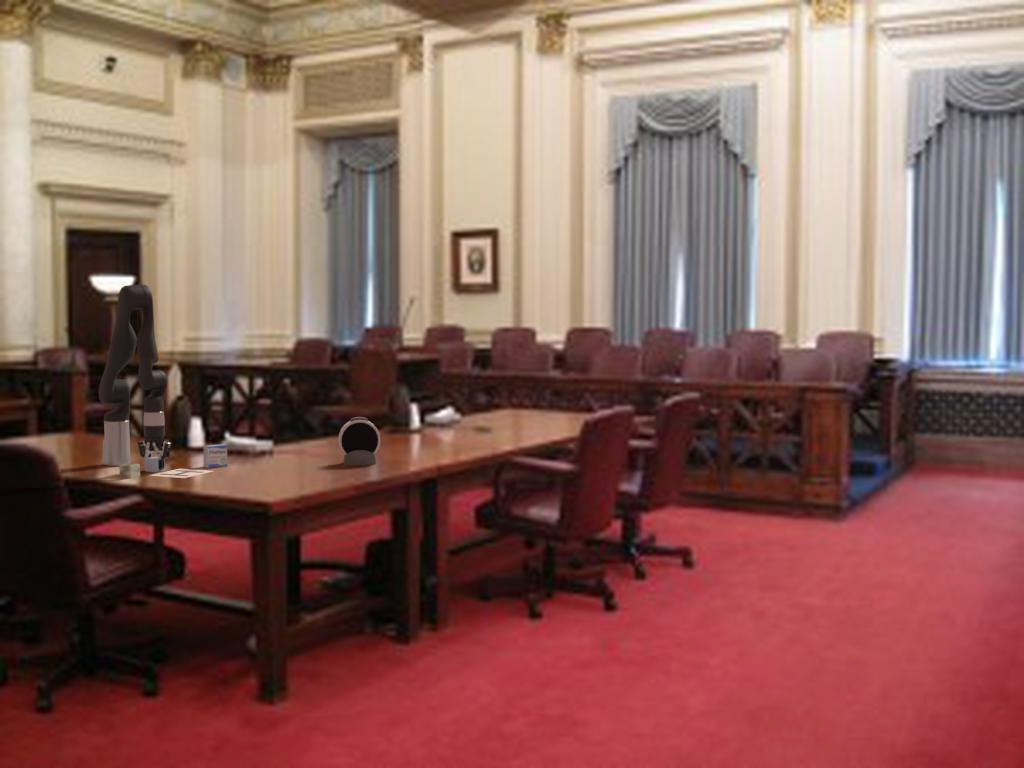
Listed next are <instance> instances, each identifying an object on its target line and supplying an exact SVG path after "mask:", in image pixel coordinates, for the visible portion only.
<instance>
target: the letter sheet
mask: <svg viewBox="0 0 1024 768" xmlns="http://www.w3.org/2000/svg"><path fill="white" fill-rule="evenodd" d="M212 472H214V470H205V469H204V470H203V469H190V468H189V469H188V468H177V469H173V470H168V471H161V472H156V473H153V474H149V475H148V476H149V477H163V478H164V477H166V478H177V479H187V478H191V477H195V476H199V475H204V474H208V473H212Z"/></svg>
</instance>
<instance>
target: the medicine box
mask: <svg viewBox="0 0 1024 768" xmlns="http://www.w3.org/2000/svg"><path fill="white" fill-rule="evenodd" d="M202 449H203V467H204V468H206V469H211V468H212V469H213V468H223V467H225V468H227V467H228V445H227V444H224V443H223V444H210V445H209V444H208V445H203V448H202Z"/></svg>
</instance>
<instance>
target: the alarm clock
mask: <svg viewBox="0 0 1024 768" xmlns="http://www.w3.org/2000/svg"><path fill="white" fill-rule="evenodd" d="M338 445H339V448H340V450H341V453H343V461H342V464H343V466H370V465H371V466H373V465H377V460H376V454H377V453H378V451H379V448H380V446H381V434H380V431H379V430H378V428H377V427H376V426H375V424H374V423H372V422H371V421H369V420H368V418H367V417H363V416H356V417H352V418H350V420H349V421H347V422H346V423H345V424H343V426H342V427H341V429H340V431H339V433H338Z"/></svg>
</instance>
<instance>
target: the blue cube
mask: <svg viewBox="0 0 1024 768" xmlns="http://www.w3.org/2000/svg"><path fill="white" fill-rule="evenodd" d="M158 460H159V458H158V456H151V457H150V458H144V466H145V467H144V468H145V469H144V470H145V472H148V473H160V472H165V470H166V466H165V467H164V469H162V470H159V462H158ZM165 460H166V459H165ZM165 460H164V461H165ZM165 462H166V461H165Z"/></svg>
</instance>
